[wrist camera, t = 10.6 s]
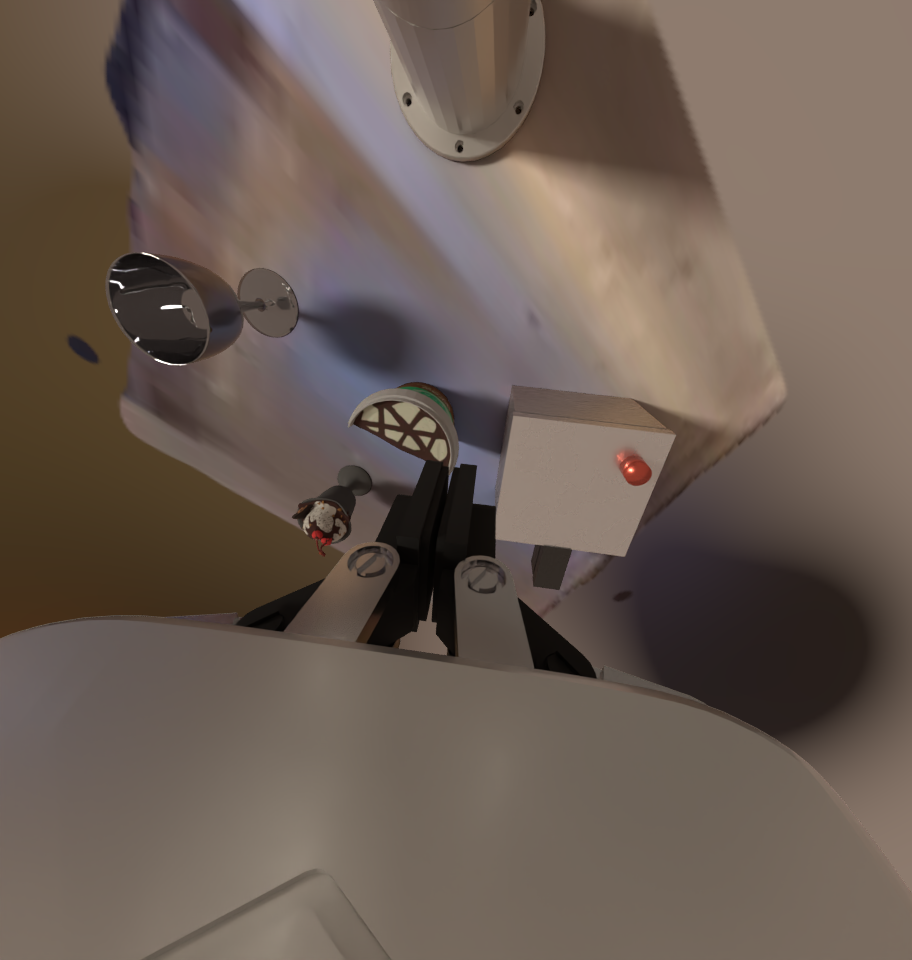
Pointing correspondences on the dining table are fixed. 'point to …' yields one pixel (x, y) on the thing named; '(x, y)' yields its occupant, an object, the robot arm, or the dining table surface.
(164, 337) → the wine glass
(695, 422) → the dining table surface
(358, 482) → the sundae
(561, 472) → the lid
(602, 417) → the white hinged box
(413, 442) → the food container
